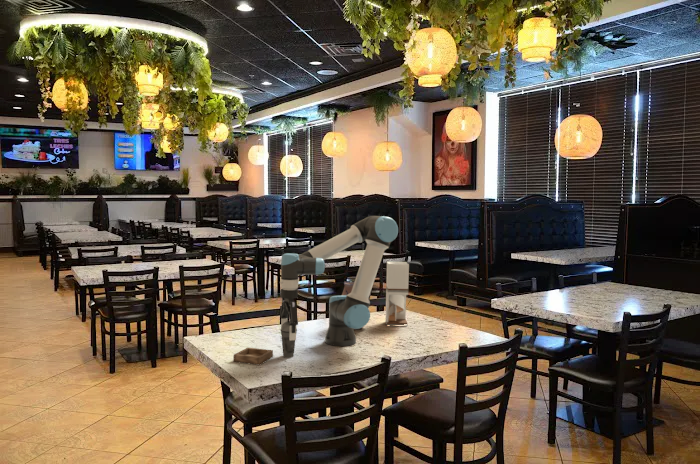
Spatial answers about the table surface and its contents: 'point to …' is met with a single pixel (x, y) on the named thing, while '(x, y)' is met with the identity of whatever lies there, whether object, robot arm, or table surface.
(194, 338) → the table surface
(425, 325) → the table surface
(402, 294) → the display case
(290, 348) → the beverage cup
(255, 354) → the wooden tray
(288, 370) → the table surface
